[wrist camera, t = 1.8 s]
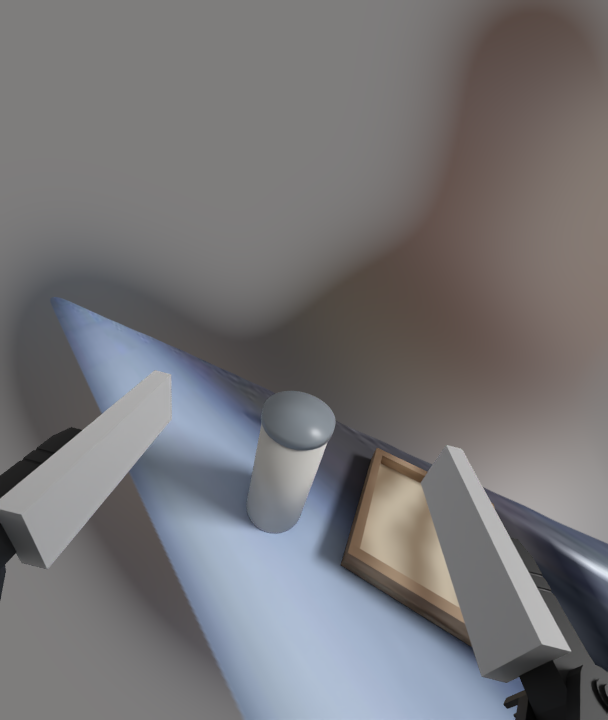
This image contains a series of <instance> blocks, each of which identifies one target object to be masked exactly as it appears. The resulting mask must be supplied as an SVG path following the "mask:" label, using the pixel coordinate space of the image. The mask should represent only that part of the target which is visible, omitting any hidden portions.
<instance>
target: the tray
mask: <svg viewBox="0 0 608 720" xmlns="http://www.w3.org/2000/svg"><path fill="white" fill-rule="evenodd" d="M427 473H428V472H426V471H424V470H422V469H420V468H418V467H416V466H414V465H412V464H410V463H408V462H406V461H403V460H401V459H399V458H397V457H395V456H393V455H391V454H389V453H387V452H385V451H383V450H381V449H379V448H377V449H376V451H375V453H374V455H373V457H372V459H371V462H370V465H369V468H368V472H367V475H366V479H365V482H364V486H363V489H362V493H361V496H360V500H359V503H358V507H357V510H356V514H355V517H354V521H353V524H352V527H351V531H350V534H349V538H348V541H347V545H346V548H345V552H344V555H343V559H342V562H341V566H343V567H344V568H346V569H348V570H349V571H351V572H352V573H354V574H356V575H357V576H359V577H360V578H362V579H364V580H365V581H367V582H368V583H370V584H372V585H373V586H375V587H376V588H378V589H380V590H381V591H383V592H384V593H386V594H388V595H389V596H391V597H393V598H394V599H396V600H397V601H399V602H401V603H402V604H404V605H405V606H407V607H409V608H410V609H412V610H413V611H415V612H417V613H418V614H420V615H421V616H423V617H425V618H426V619H428V620H429V621H431V622H433V623H434V624H436V625H437V626H439V627H441V628H442V629H444V630H445V631H447V632H449V633H450V634H452V635H453V636H455V637H457V638H458V639H460V640H461V641H463V642H465V643H466V644H468V645H469V646H471V647H472V644H471V641H470V638H469V635H468V632H467V628H466V625H465V622H464V619H463V616H462V613H461V609H460V606H459V603H458V600H457V597H456V594H455V590H454V587H453V584H452V581H451V578H450V574H449V571H448V568H447V565H446V562H445V559H444V555H443V552H442V549H441V546H440V543H439V540H438V536H437V533H436V530H435V527H434V524H433V520H432V517H431V514H430V511H429V508H428V505H427V501H426V498H425V495H424V492H423V489H422V486H421V481H422V480H423V478H424V477H425V475H426V474H427ZM491 504H492V505H493V507H494V504H493V503H491ZM494 509H495V508H494Z"/></svg>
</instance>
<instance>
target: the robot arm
mask: <svg viewBox="0 0 608 720" xmlns="http://www.w3.org/2000/svg"><path fill="white" fill-rule="evenodd" d="M171 419H172V410H171V374H167V373H163V372H159V371H153V372H152V373H151V374H150V375H149V376H147V377H146V378H145V379H144V380H143V381H141V382H140V383H139V384H138V385H137V386H135V387H134V388H133V389H132V390H131V391H129V392H128V393H127V394H126V395H124V396H123V397H122V398H121V399H120V400H118V401H117V402H116V403H115V404H114V405H112V406H111V407H110V408H109V409H108V410H106V411H105V412H104V413H103V414H102V415H100V416H99V417H98V418H97V419H96V420H95V421H93V422H92V423H91V424H90V425H89V426H87V427H86V428H85V429H84V430H80V429H76V428H72V427H71V428H69V429H67V430H65V431H62V432H60V433H58V434H56V435H53V436H52V437H51V438H49V439H48V440H47V441H45V442H44V443H43V444H41V445H40V446H39V447H37V449H36V450H35V451H32V452H31V453H29V454H28V455H27V456H25V457H24V458H23V460H22V461H19V462H18V463H16V464H15V465H14V466H12V467H11V468H10V469H8V470H7V471H6V472H4V473H3V474H2V475H1V476H0V599H1V593H2V588H3V583H4V578H5V573H6V569H5V564H6V563H7V562H8V561H9V560H10V559H11V558H12V556H13V555H14V554H15V553H16V554H17V556H18V557H19V559H20V561H21V562H22V563H24V564H28V565H32V566H36V567H40V568H44V569H48V568H49V567H50V566H51V564H52V563H53V562H54V561H55V560H56V558H57V557H58V556H59V555H60V554H61V552H62V551H63V550H64V549H65V548H66V546H67V545H68V544H69V543H70V541H71V540H72V539H73V538H74V537H75V535H76V534H77V533H78V532H79V531H80V529H81V528H82V527H83V526H84V525H85V523H86V522H87V521H88V520H89V519H90V517H91V516H92V515H93V514H94V512H95V511H96V510H97V509H98V508H99V506H100V505H101V504H102V503H103V502H104V500H105V499H106V498H107V497H108V496H109V494H110V493H111V492H112V491H113V490H114V488H115V487H116V486H117V485H118V483H119V482H120V481H121V480H122V479H123V477H124V476H125V475H126V474H127V473H128V471H129V470H130V469H131V468H132V467H133V465H134V464H135V463H136V462H137V461H138V459H139V458H140V457H141V456H142V454H143V453H144V452H145V451H146V450H147V448H148V447H149V446H150V445H151V444H152V442H153V441H154V440H155V439H156V438H157V436H158V435H159V434H160V433H161V432H162V430H163V429H164V428H165V427H166V425H167V424H168V423H169V422H170V421H171ZM421 486H422V489H423V492H424V495H425V498H426V501H427V505H428V508H429V511H430V514H431V517H432V520H433V524H434V527H435V530H436V533H437V536H438V540H439V543H440V546H441V549H442V552H443V555H444V559H445V562H446V565H447V568H448V571H449V574H450V578H451V581H452V584H453V587H454V590H455V594H456V597H457V600H458V603H459V606H460V609H461V613H462V616H463V619H464V622H465V625H466V628H467V632H468V635H469V638H470V641H471V644H472V648H473V651H474V654H475V657H476V660H477V663H478V667H479V670H480V673H481V676H482V677H485V678H489V679H493V680H497V681H501V682H505V683H507V682H509V681H511V680H513V679H516V678H518V677H520V679H521V682H522V684H523V687H524V689H525V690H524V691H521V692H519V693H517V694H514V695H512V696H510V697H508V698H506V700H505V702H504V706H505V707H506V708H507V709H508V708H511V707H513V706H516V705H518V707H517V713H515V714H514V717H515V718H516V719H515V720H608V673H607V672H606V671H605V670H603V669H602V668H601V667H599V666H596V665H595V664H594V662H593V661H592V659H591V658H590V656H589V654H588V653H587V651H586V649H585V648H584V646H583V644H582V642H581V641H580V639H579V637H578V635H577V634H576V632H575V630H574V628H573V627H572V625H571V623H570V622H569V620H568V618H567V616H566V615H565V613H564V611H563V609H562V608H561V606H560V604H559V602H558V601H557V599H556V597H555V595H554V594H552V593H551V589H550V587H549V585H548V583H547V582H546V580H545V578H543V577H542V573H541V571H540V569H539V568H538V566H537V564H536V562H535V561H534V559H533V557H532V556H531V555H530V553H529V552H528V551H527V550H526V549H525V548H524V546H523V545H522V544H521V543H520V542H519V540H518V539H514V538H510V537H509V535H508V533H507V531H506V529H505V528H504V526H503V524H502V522H501V520H500V518H499V516H498V515H497V513H496V511H495V509H494V507H493V505H492V504H491V502H490V500H489V498H488V496H487V494H486V492H485V491H484V489H483V487H482V485H481V483H480V481H479V480H478V478H477V476H476V474H475V472H474V470H473V468H472V467H471V465H470V463H469V461H468V460H467V457H466V455H465V454H464V452H463V450H462V449H460V448H456V447H452V446H448V445H446V446H445V448H444V449H443V450H442V452H441V454H440V455H439V456H438V458H437V459H436V461H435V462H434V464H433V465H432V467H431V468H430V470H429V471H428V473H427V474H426V475H425V477H424V478H423V480H422V481H421Z"/></svg>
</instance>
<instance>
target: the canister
mask: <svg viewBox="0 0 608 720" xmlns="http://www.w3.org/2000/svg"><path fill="white" fill-rule="evenodd" d="M261 422H262V424H261V430H260V435H259V440H258V445H257V450H256V456H255V461H254V466H253V471H252V476H251V482H250V487H249V492H248V497H247V504H246V507H247V513H248V516H249V518H250V520H251V521H252V523H253V524H254V525H255V526H256V527H258V528H259V529H261V530H262V531H265V532H268V533H282V532H285V531H288V530H289V529H291V528H292V527H293V526H294V525H295V524H296V523H297V522H298V520H299V518H300V516H301V513H302V510H303V507H304V505H305V502H306V499H307V496H308V494H309V491H310V488H311V486H312V483H313V480H314V477H315V475H316V472H317V469H318V466H319V464H320V461H321V458H322V456H323V453H324V450H325V447H326V445H327V442H328V441H329V440H330V438H331V436H332V433H333V430H334V428H335V417H334V414H333V412H332V411H331V409H330V408H329V407H328V406H327V405H326V404H325V403H324V402H323V401H321V400H320V399H318V398H317V397H314V396H312V395H310V394H307V393H304V392H298V391H285V392H280V393H276V394H274V395H272V396H271V397H269V398H268V399H267V400H266V402H265V403H264V406H263V410H262V416H261Z"/></svg>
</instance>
